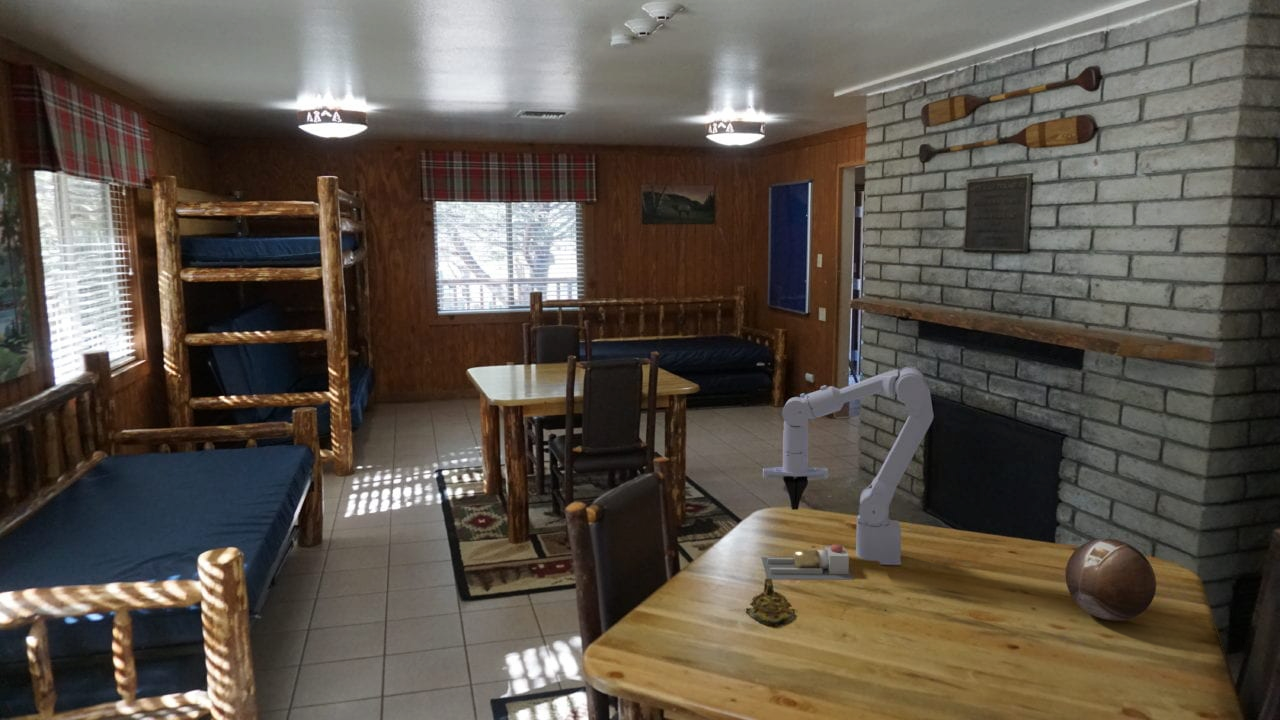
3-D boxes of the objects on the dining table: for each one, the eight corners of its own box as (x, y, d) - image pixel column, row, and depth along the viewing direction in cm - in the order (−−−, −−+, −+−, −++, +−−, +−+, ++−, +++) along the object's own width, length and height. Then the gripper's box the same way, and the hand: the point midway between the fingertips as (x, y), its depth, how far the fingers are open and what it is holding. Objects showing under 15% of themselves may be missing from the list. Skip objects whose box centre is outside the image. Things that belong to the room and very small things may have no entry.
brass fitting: (815, 563, 185) (816, 546, 184) (818, 573, 182) (819, 556, 180) (792, 563, 186) (793, 546, 184) (795, 572, 182) (796, 556, 181)
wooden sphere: (1051, 617, 162) (1056, 542, 159) (1078, 593, 172) (1083, 522, 170) (1139, 643, 151) (1146, 563, 149) (1162, 615, 162) (1169, 540, 159)
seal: (798, 634, 159) (788, 599, 174) (802, 610, 158) (791, 577, 173) (749, 628, 159) (742, 593, 174) (752, 605, 158) (745, 572, 173)
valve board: (842, 562, 189) (843, 536, 188) (853, 584, 178) (854, 556, 177) (761, 561, 190) (761, 535, 189) (767, 583, 178) (767, 556, 177)
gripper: (824, 446, 196) (823, 502, 198) (761, 446, 196) (761, 502, 198) (830, 454, 189) (828, 512, 191) (764, 454, 189) (764, 512, 191)
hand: (794, 508), depth 194 cm, fingers closed
